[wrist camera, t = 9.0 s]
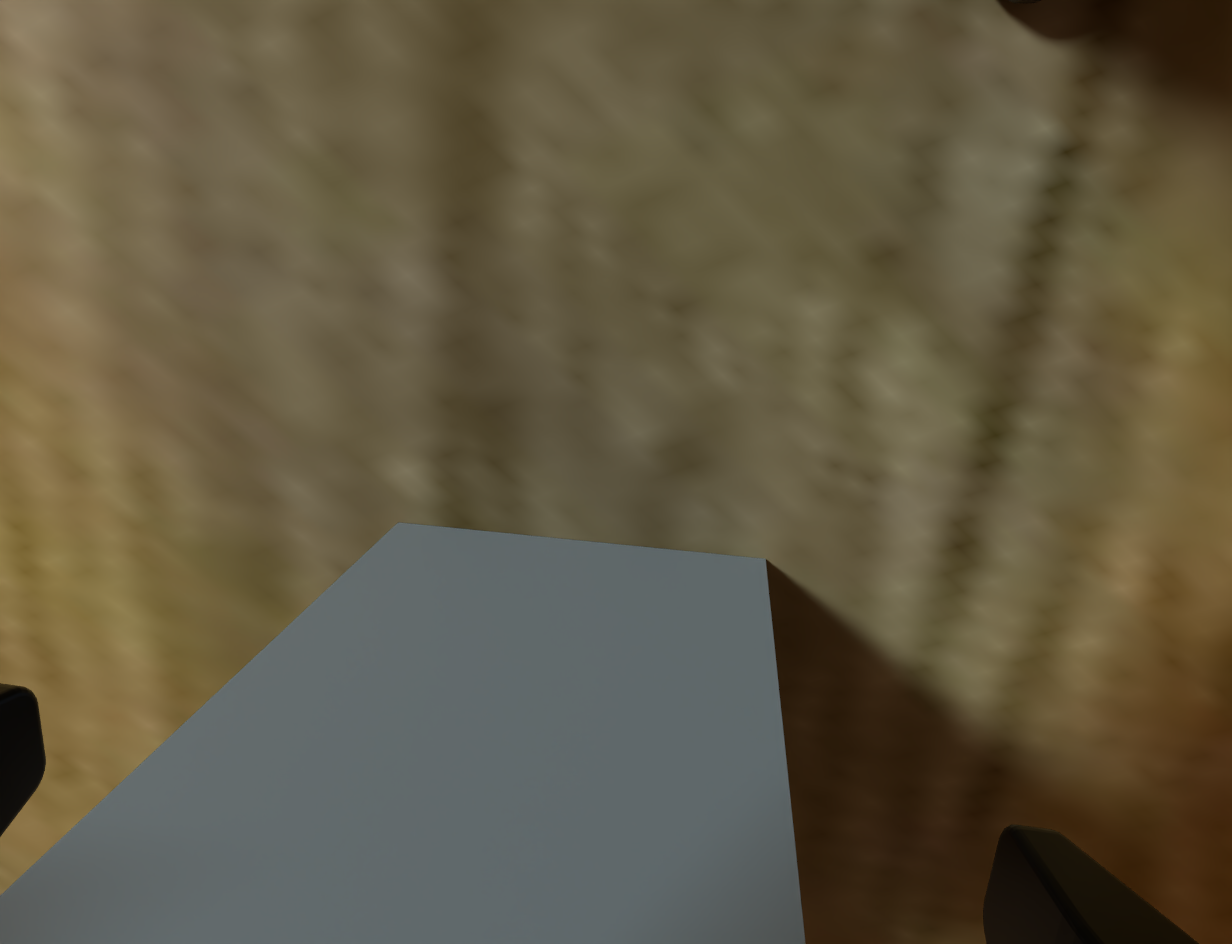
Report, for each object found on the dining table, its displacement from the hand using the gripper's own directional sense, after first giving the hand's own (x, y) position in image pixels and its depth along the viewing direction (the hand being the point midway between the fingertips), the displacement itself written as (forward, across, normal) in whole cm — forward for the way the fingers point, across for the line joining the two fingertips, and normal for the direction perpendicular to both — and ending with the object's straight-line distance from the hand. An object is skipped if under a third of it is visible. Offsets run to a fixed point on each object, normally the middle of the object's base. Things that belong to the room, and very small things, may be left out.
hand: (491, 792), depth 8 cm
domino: (+4, 0, 0) cm, 4 cm away
